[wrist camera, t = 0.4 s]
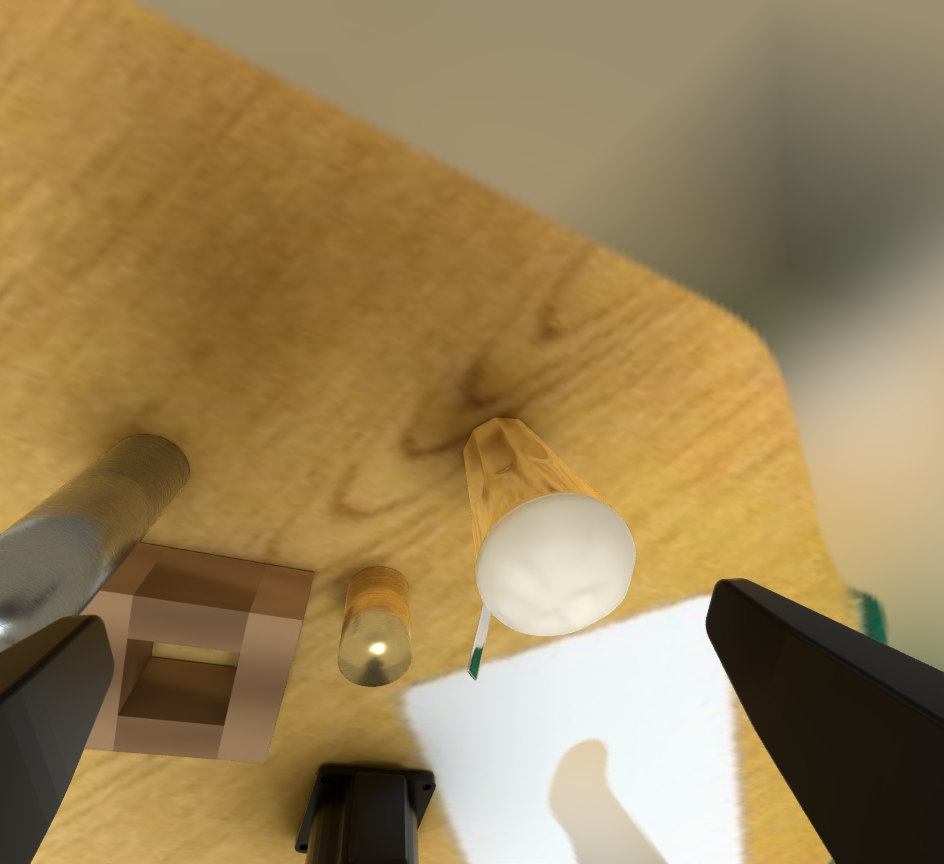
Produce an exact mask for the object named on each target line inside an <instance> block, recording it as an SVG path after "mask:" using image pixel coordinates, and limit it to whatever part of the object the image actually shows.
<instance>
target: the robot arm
mask: <svg viewBox="0 0 944 864" xmlns="http://www.w3.org/2000/svg"><path fill="white" fill-rule="evenodd" d="M706 631H707V634H708V637H709V639H710V641H711V643H712V645H713V647H714V649H715V651H716V653H717V655H718V657H719V659H720V661H721V663H722V666H723V668H724V670H725V672H726V674H727V676H728V678H729V680H730V682H731V684H732V686H733V688H734V690H735V692H736V694H737V696H738V698H739V700H740V702H741V704H742V706H743V708H744V710H745V712H746V714H747V716H748V718H749V720H750V722H751V724H752V725H753V727H754V729H755V731H756V733H757V734H758V736H759V738H760V740H761V741H762V743H763V745H764V747H765V748H766V750H767V752H768V753H769V755H770V756H771V758H772V760H773V761H774V763H775V765H776V766H777V768H778V770H779V771H780V773H781V775H782V776H783V778H784V780H785V781H786V783H787V784H788V786H789V788H790V789H791V791H792V793H793V794H794V796H795V798H796V799H797V801H798V803H799V804H800V806H801V808H802V809H803V811H804V812H805V814H806V816H807V817H808V819H809V821H810V822H811V824H812V826H813V827H814V829H815V831H816V832H817V834H818V836H819V837H820V839H821V840H822V842H823V844H824V845H825V847H826V849H827V850H828V852H829V854H830V855H831V857H832V859H833V860H834V862H835V864H944V672H942V671H940V670H938V669H936V668H934V667H932V666H929V665H928V664H925V663H923V662H921V661H919V660H917V659H915V658H913V657H911V656H908V655H906V654H904V653H902V652H900V651H898V650H895V649H894V648H892V647H889V646H887V645H885V644H883V643H881V642H879V641H877V640H875V639H872V638H870V637H868V636H866V635H864V634H862V633H860V632H858V631H855V630H853V629H851V628H849V627H847V626H845V625H843V624H841V623H838V622H836V621H834V620H832V619H830V618H828V617H826V616H824V615H821V614H819V613H817V612H815V611H813V610H811V609H809V608H807V607H804V606H802V605H800V604H798V603H796V602H794V601H792V600H790V599H787V598H785V597H783V596H781V595H779V594H777V593H775V592H773V591H771V590H768V589H766V588H764V587H762V586H760V585H758V584H756V583H754V582H751V581H749V580H747V579H743V578H734V579H722V580H719V581H718V582H717V583H716V584H715V586H714V590H713V593H712V597H711V601H710V605H709V609H708V613H707V617H706ZM113 674H114V658H113V654H112V651H111V647H110V643H109V639H108V635H107V631H106V627H105V624H104V621H103V620H102V618H101V617H99V616H97V615H76V616H66V617H62V618H60V619H58V620H56V621H54V622H52V623H51V624H49V625H47V626H45V627H44V628H42V629H40V630H38V631H37V632H35V633H33V634H31V635H30V636H28V637H26V638H24V639H23V640H21V641H19V642H17V643H16V644H14V645H12V646H10V647H9V648H7V649H5V650H3V651H2V652H0V864H30V863H31V861H32V860H33V858H34V856H35V854H36V852H37V850H38V848H39V846H40V844H41V842H42V840H43V838H44V836H45V835H46V833H47V831H48V829H49V827H50V825H51V823H52V821H53V819H54V817H55V815H56V813H57V811H58V809H59V807H60V805H61V803H62V800H63V798H64V796H65V793H66V791H67V789H68V787H69V784H70V782H71V780H72V777H73V775H74V772H75V770H76V767H77V765H78V762H79V760H80V758H81V755H82V753H83V750H84V748H85V745H86V743H87V740H88V738H89V736H90V733H91V731H92V728H93V726H94V723H95V721H96V718H97V716H98V714H99V711H100V709H101V706H102V704H103V701H104V699H105V696H106V694H107V692H108V689H109V687H110V684H111V682H112V679H113ZM435 787H436V783H435V777H434V776H433V775H432V774H424V773H412V772H399V771H387V770H374V769H362V768H349V767H337V766H324V767H321V768H320V769H318V771H317V774H316V777H315V780H314V783H313V786H312V790H311V793H310V796H309V799H308V802H307V806H306V809H305V812H304V815H303V818H302V822H301V825H300V828H299V831H298V834H297V838H296V843H295V850H296V851H297V852H300V853H307V857H306V864H419V861H418V835H417V830H418V828H419V825H420V823H421V821H422V818H423V816H424V813H425V811H426V809H427V806H428V804H429V802H430V799H431V797H432V795H433V792H434V790H435Z"/></svg>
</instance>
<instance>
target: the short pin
mask: <svg viewBox="0 0 944 864" xmlns="http://www.w3.org/2000/svg"><path fill="white" fill-rule="evenodd" d="M410 663H411V636H410V612H409V589H408V584H407V581H406V580H405V578H404V577H403V576H402V575H401V574H400V573H399V572H397V571H396V570H394V569H391V568H387V567H371V568H367V569H365V570H362V571H361V572H359V573H358V574H356V575H355V576H354V577H353V578H352V580H351V581H350V583H349V585H348V588H347V595H346V602H345V610H344V618H343V626H342V633H341V641H340V649H339V656H338V665H339V669H340V671H341V673H342V674H343V675H344V676H345V677H346V678H347V679H348V680H349V681H351V682H353V683H355V684H358V685H361V686H368V687H376V686H383V685H386V684H389V683H392V682H394V681H396V680H397V679H399V678H400V677H401V676H402V675H403V674H404V673H405V672H406V671H407V669H408V668H409V666H410Z"/></svg>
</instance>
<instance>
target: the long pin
mask: <svg viewBox="0 0 944 864" xmlns="http://www.w3.org/2000/svg"><path fill="white" fill-rule="evenodd" d="M189 473H190V470H189V464H188V461H187V459H186V457H185V455H184V454H183V453H182V451H181V450H180V449H179V448H178V447H177V446H176V445H174V444H173V443H172V442H170V441H168V440H166V439H164V438H162V437H159V436H155V435H149V434H139V435H134V436H130V437H128V438H126V439H124V440H122V441H121V442H119V443H118V444H117V445H115V446H114V447H113V448H112V449H110V450H109V451H108V452H106V453H105V454H104V455H103V456H101V457H100V458H99V459H97V460H96V461H95V462H94V463H92V464H91V465H90V466H88V467H87V468H86V469H84V470H83V471H82V472H81V473H79V474H78V475H77V476H75V477H74V478H73V479H72V480H70V481H69V482H68V483H66V484H65V485H64V486H62V487H61V488H60V489H59V490H57V491H56V492H55V493H53V494H52V495H51V496H50V497H48V498H47V499H46V500H44V501H43V502H42V503H40V504H39V505H38V506H37V507H35V508H34V509H33V510H31V511H30V512H29V513H28V514H26V515H25V516H24V517H22V518H21V519H20V520H18V521H17V522H16V523H15V524H13V525H12V526H11V527H9V528H8V529H7V530H6V531H4V532H3V533H2V534H0V652H2V651H3V650H5V649H7V648H9V647H10V646H12V645H14V644H16V643H17V642H19V641H21V640H23V639H24V638H26V637H28V636H30V635H31V634H33V633H35V632H37V631H38V630H40V629H42V628H44V627H45V626H47V625H49V624H51V623H52V622H54V621H56V620H58V619H60V618H62V617H66V616H76V615H80V614H81V613H82V612H83V611H84V609H85V608H86V607H87V606H88V605H89V603H90V602H91V601H92V600H93V598H94V597H95V596H96V595H97V594H98V592H99V591H100V590H101V589H102V587H103V586H104V585H105V584H106V582H107V581H108V580H109V579H110V578H111V576H112V575H113V574H114V573H115V571H116V570H117V569H118V568H119V567H120V565H121V564H122V563H123V562H124V560H125V559H126V558H127V557H128V556H129V554H130V553H131V552H132V551H133V549H134V548H135V547H136V546H137V544H138V543H139V542H140V541H141V540H142V538H143V537H144V536H145V535H146V533H147V532H148V531H149V530H150V529H151V527H152V526H153V525H154V524H155V522H156V521H157V520H158V519H159V518H160V516H161V515H162V514H163V513H164V511H165V510H166V509H167V508H168V506H169V505H170V504H171V503H172V502H173V500H174V499H175V498H176V497H177V495H178V494H179V493H180V492H181V491H182V489H183V488H184V487H185V485H186V484H187V482H188V479H189Z"/></svg>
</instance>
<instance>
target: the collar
mask: <svg viewBox="0 0 944 864" xmlns="http://www.w3.org/2000/svg"><path fill="white" fill-rule="evenodd" d="M313 576H314V572H309V571H303V570H298V569H292V568H286V567H280V566H274V565H268V564H262V563H257V562H251V561H245V560H239V559H233V558H227V557H222V556H216V555H210V554H204V553H198V552H192V551H186V550H181V549H175V548H169V547H163V546H157V545H151V544H146V543H140V542H139V543H138V544H137V546H136V547H135V548H134V549H133V551H132V552H131V553H130V554H129V556H128V557H127V558H126V559H125V560H124V562H123V563H122V564H121V565H120V567H119V568H118V569H117V570H116V571H115V573H114V574H113V575H112V576H111V578H110V579H109V580H108V581H107V582H106V584H105V585H104V586H103V587H102V589H101V590H100V591H99V592H98V594H97V595H96V596H95V597H94V598H93V600H92V601H91V602H90V603H89V605H88V606H87V607H86V608H85V609H84V611H83V612H82V613H81V614H80V615H97V616H99V617H101V618H102V620H103V621H104V624H105V627H106V631H107V635H108V639H109V643H110V647H111V651H112V654H113V658H114V674H113V679H112V682H111V684H110V687H109V689H108V692H107V694H106V696H105V699H104V701H103V704H102V706H101V709H100V711H99V714H98V716H97V718H96V721H95V723H94V726H93V728H92V731H91V733H90V736H89V738H88V740H87V743H86V745H85V748H84V749H92V750H104V751H117V752H130V753H142V754H155V755H168V756H180V757H193V758H206V759H219V760H231V761H244V762H257V763H266V759H267V755H268V751H269V748H270V744H271V740H272V736H273V732H274V729H275V725H276V721H277V717H278V713H279V710H280V706H281V702H282V698H283V695H284V691H285V687H286V683H287V679H288V676H289V672H290V668H291V664H292V660H293V657H294V653H295V649H296V645H297V642H298V638H299V634H300V630H301V626H302V623H303V619H304V614H305V610H306V606H307V601H308V597H309V593H310V589H311V584H312V580H313ZM153 642H160V643H168V644H176V645H184V646H191V647H199V648H207V649H215V650H223V651H230V652H238V653H240V657H239V661H238V666H237V667H229V666H221V665H213V664H204V663H196V662H188V661H180V660H171V659H163V658H155V657H151V654H152V647H153Z"/></svg>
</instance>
